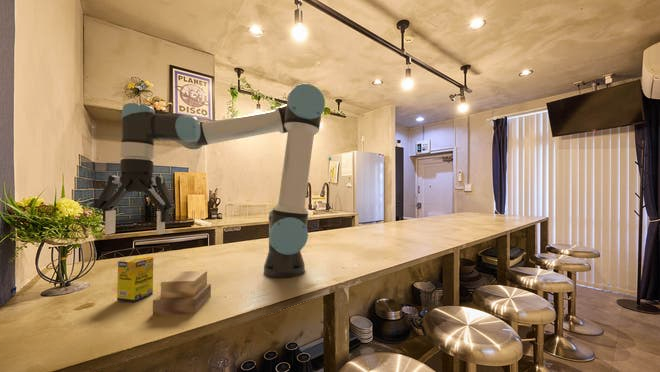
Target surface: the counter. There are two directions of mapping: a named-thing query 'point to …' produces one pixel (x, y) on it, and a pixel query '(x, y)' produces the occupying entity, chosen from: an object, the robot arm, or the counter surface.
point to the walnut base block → (181, 303)
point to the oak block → (183, 284)
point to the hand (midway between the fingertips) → (135, 233)
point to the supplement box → (135, 278)
